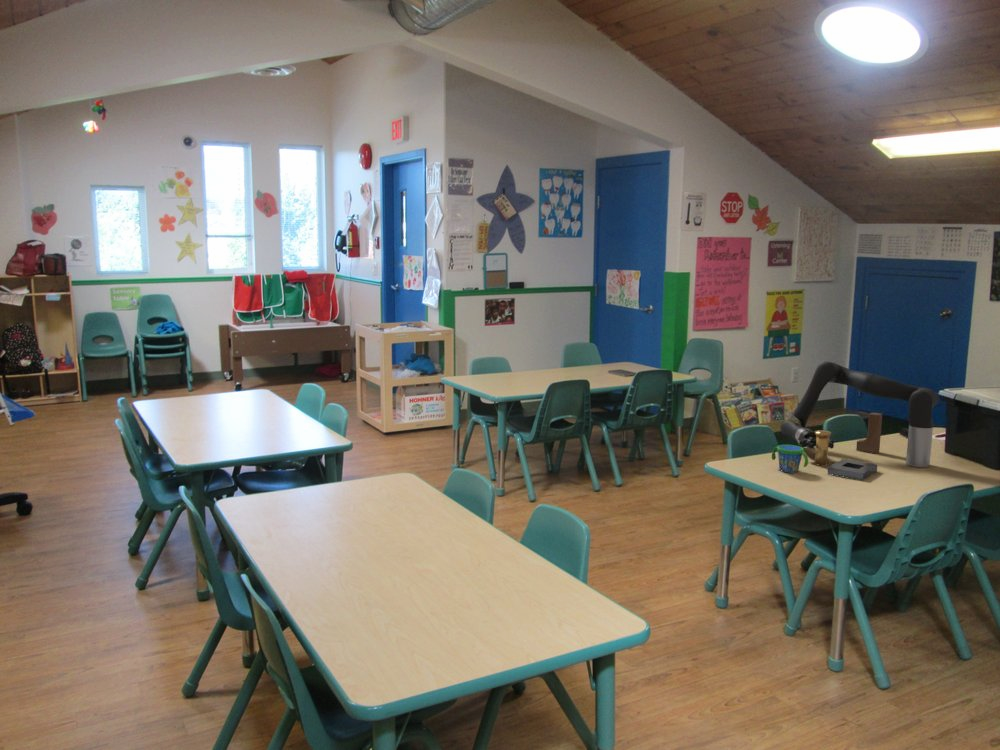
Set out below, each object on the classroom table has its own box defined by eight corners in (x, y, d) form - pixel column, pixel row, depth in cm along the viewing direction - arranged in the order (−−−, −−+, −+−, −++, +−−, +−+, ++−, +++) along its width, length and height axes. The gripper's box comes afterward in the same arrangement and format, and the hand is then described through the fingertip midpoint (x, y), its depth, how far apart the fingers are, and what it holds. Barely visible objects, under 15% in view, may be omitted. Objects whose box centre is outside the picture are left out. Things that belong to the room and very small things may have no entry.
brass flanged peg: (816, 461, 370) (818, 429, 368) (831, 463, 366) (833, 431, 364) (810, 464, 365) (812, 432, 363) (825, 466, 361) (827, 434, 359)
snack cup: (812, 473, 351) (814, 449, 350) (796, 477, 345) (798, 453, 344) (781, 464, 364) (782, 442, 362) (765, 468, 358) (766, 445, 356)
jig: (842, 465, 364) (843, 458, 363) (876, 471, 355) (877, 464, 354) (827, 474, 350) (828, 467, 350) (862, 480, 341) (863, 473, 341)
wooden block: (855, 450, 389) (858, 412, 386) (859, 448, 392) (862, 410, 389) (876, 453, 383) (879, 415, 380) (879, 452, 386) (882, 413, 383)
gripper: (791, 429, 379) (807, 438, 363) (822, 429, 380) (839, 437, 364) (791, 445, 380) (806, 455, 364) (821, 445, 381) (838, 454, 365)
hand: (822, 446), depth 364 cm, fingers open, 8 cm apart
